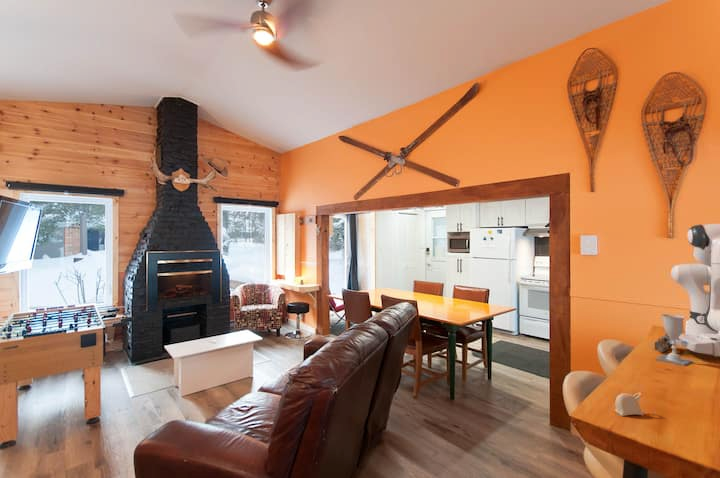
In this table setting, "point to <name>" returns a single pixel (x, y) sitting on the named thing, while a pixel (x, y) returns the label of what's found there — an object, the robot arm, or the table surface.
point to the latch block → (656, 345)
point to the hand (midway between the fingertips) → (667, 340)
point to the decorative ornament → (628, 404)
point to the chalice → (673, 332)
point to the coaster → (683, 362)
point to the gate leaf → (663, 343)
